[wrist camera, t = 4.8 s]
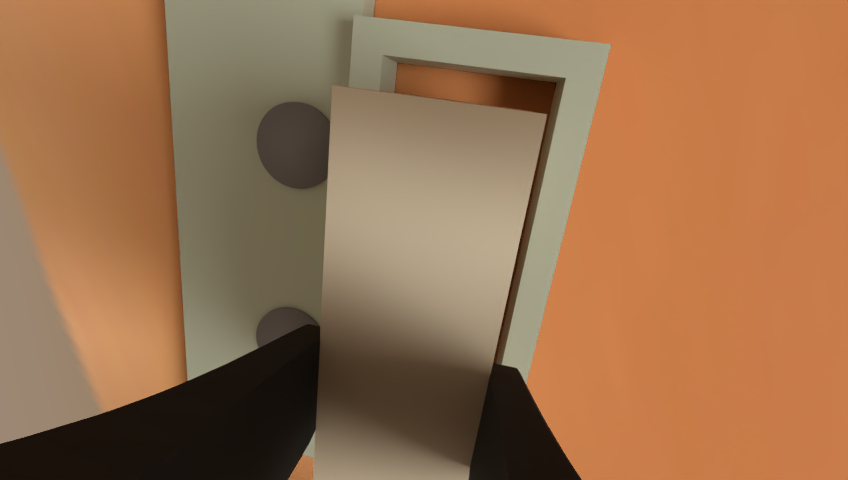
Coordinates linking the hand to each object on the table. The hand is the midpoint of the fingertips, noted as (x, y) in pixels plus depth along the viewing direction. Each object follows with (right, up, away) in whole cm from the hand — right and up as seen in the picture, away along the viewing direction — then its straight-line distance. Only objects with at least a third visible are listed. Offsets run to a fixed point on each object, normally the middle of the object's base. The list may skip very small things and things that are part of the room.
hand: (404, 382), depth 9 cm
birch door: (+1, +2, +5) cm, 5 cm away
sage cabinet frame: (-2, +3, +7) cm, 8 cm away
